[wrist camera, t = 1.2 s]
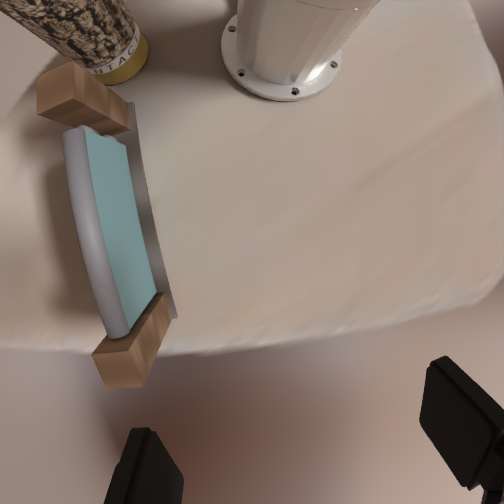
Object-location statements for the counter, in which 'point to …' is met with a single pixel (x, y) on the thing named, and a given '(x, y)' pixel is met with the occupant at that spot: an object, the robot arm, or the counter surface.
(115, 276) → the gate
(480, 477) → the robot arm
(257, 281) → the counter surface
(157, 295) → the gate frame
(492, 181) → the counter surface
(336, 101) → the counter surface
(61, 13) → the wooden log
